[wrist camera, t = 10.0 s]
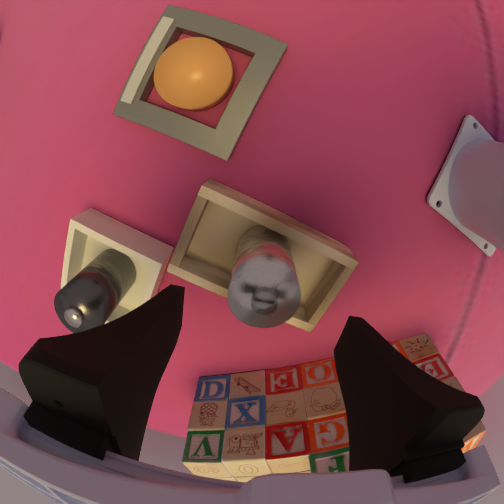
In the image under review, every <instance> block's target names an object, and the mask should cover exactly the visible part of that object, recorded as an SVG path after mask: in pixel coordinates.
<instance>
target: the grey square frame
mask: <svg viewBox="0 0 504 504" xmlns="http://www.w3.org/2000/svg"><path fill="white" fill-rule="evenodd" d="M181 33H185V34H189V35H192V36H195V37H204V38H208V39H211V40H213V41H215V42H217V43H218V44H220V45H223V46H225V47H228V48H231V49H234V50H236V51H239V52H241V53H244V54H246V55H249V56H251V57H253V58H252V60H251V62H250V64H249V66H248V67H247V69H246V71H245V73H244V75H243V76H242V78H241V80H240V82H239V84H238V86H237V88H236V90H235V92H234V93H233V95H232V97H231V99H230V101H229V103H228V105H227V107H226V109H225V111H224V113H223V115H222V117H221V119H220V121H219V123H218V125H217V127H216V129H215V128H213V127H210V126H208V125H206V124H203V123H201V122H198V121H196V120H193V119H191V118H189V117H186V116H184V115H181V114H178V113H176V112H173V111H171V110H168V109H165V108H163V107H160V106H157V105H154V104H152V103H149V102H146V101H147V99H148V97H149V95H150V92H151V90H152V88H153V86H154V69H155V66H156V63H157V61H158V59H159V57H160V56H161V55H162V53H163V52H164V51H165V50H166V49H167V48H168V47H169V46H171V45H172V44H174V43H175V42H176V41H177V40H178V38H179V36H180V34H181ZM287 47H288V44H286V43H284V42H282V41H279V40H277V39H275V38H272V37H270V36H268V35H265V34H263V33H260V32H258V31H255V30H252V29H250V28H247V27H244V26H242V25H239V24H236V23H233V22H230V21H227V20H224V19H221V18H218V17H214V16H211V15H207V14H204V13H200V12H197V11H193V10H189V9H185V8H181V7H176V6H172V5H168V6H167V8H166V9H165V11H164V12H163V14H162V16H161V17H160V19H159V20H158V22H157V24H156V26H155V27H154V29H153V31H152V33H151V34H150V36H149V38H148V40H147V42H146V43H145V45H144V47H143V49H142V51H141V53H140V55H139V57H138V59H137V61H136V63H135V65H134V67H133V69H132V71H131V73H130V75H129V77H128V80H127V82H126V84H125V86H124V88H123V91H122V93H121V95H120V98H119V100H118V102H117V105H116V107H115V110H114V112H113V115H116V116H119V117H122V118H124V119H127V120H130V121H132V122H135V123H138V124H140V125H143V126H145V127H148V128H151V129H153V130H156V131H158V132H161V133H163V134H166V135H168V136H171V137H173V138H175V139H178V140H180V141H183V142H185V143H187V144H190V145H192V146H194V147H197V148H199V149H201V150H204V151H206V152H208V153H210V154H213V155H215V156H217V157H219V158H222V159H224V160H226V161H228V160H229V159H230V157H231V155H232V152H233V150H234V148H235V146H236V144H237V142H238V140H239V138H240V136H241V134H242V132H243V130H244V128H245V126H246V124H247V122H248V120H249V118H250V116H251V114H252V113H253V111H254V109H255V107H256V105H257V103H258V101H259V99H260V97H261V95H262V93H263V92H264V90H265V88H266V86H267V84H268V82H269V80H270V79H271V77H272V75H273V73H274V71H275V70H276V68H277V66H278V64H279V62H280V61H281V59H282V57H283V55H284V54H285V52H286V50H287Z"/></svg>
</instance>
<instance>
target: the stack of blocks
mask: <svg viewBox="0 0 504 504" xmlns="http://www.w3.org/2000/svg"><path fill="white" fill-rule="evenodd" d="M390 344H391V345H392V346H393V347H394V348H395V349H396V350H397V351H399V352H400V353H401V354H402V355H403V356H404V357H406V358H407V359H408V360H409V361H411V362H412V363H413V364H415V365H416V366H417V367H419V368H420V369H422V370H423V371H425V372H426V373H428V374H429V375H431V376H433V377H434V378H436V379H438V380H439V381H441V382H443V383H445V384H447V385H449V386H451V387H454V388H456V389H458V390H461V391H463V392H465V391H464V389H463V388H462V386H461V384H460V383H459V381H458V380H457V378H456V377H454V374H453V373H452V371H451V370H450V368H449V367H448V365H447V364H446V362H445V361H444V359H443V358H442V356H441V355H440V354H439V351H438V350H437V348H436V347H435V345H434V343H433V342H432V341H431V339H430V338H429V337H428V335H427V334H426V333H424V334H420V335H417V336H414V337H411V338H407V339H404V340H400V341H395V342H391V343H390ZM485 431H486V429H485V427H484V425H483V423H482V421H481V420H480V422H479V423H478V424H477V425H476V426H475V427H474V428H473V429H472V430H471V431H470V432H469V433H468V434H467V435H466V436H465V437H464V438H463V441H464V444H465V446H464V447H463V448H461V450H462V452H463V453H465V452H467V451H468V450H471V449H474V447H475V446H476V445H477V443H478V442H479V441H480V439H481V438H482V436H483V434H484V433H485ZM182 462H183V464H184V465H185V466H187V468H188V469H189V470H190V471H191V472H192V473H193V474H194V475H197V476H203V477H209V478H215V479H222V480H229V481H237V482H248V481H249V480H251V479H252V478H254V477H257V476H262V475H267V474H272V473H326V472H345V471H349V435H348V423H347V415H346V409H345V405H344V401H343V397H342V393H341V389H340V385H339V381H338V377H337V372H336V367H335V357H333V358H328V359H325V360H320V361H314V362H309V363H304V364H301V365H295V366H289V367H283V368H277V369H271V370H267V371H265V370H260V371H253V372H245V373H236V374H226V375H217V376H208V377H200V378H199V381H198V385H197V389H196V394H195V398H194V403H193V406H192V410H191V415H190V419H189V424H188V433H187V438H186V443H185V449H184V454H183V459H182Z"/></svg>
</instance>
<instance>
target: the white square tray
mask: <svg viewBox="0 0 504 504" xmlns="http://www.w3.org/2000/svg"><path fill="white" fill-rule="evenodd" d="M107 249H116V250H118V251H120V252H122V253H124V254H126V255H128V256H129V257H130V259H131V260H132V261H133V263H134V265H135V268H136V280H135V282H134V284H133V285H132V287H131V288H130V289H129V291H128V292H127V293H126V295H125V296H124V297H123V299H122V300H121V301H120V303H119V304H118V306H117V307H116V308H115V310H114V311H113V312H112V314H111V315H110V317H109V318H108V319H107V321H106V322H105V324H106V323H108V322H110V321H113V320H115V319H117V318H119V317H121V316H123V315H125V314H127V313H129V312H130V311H132V310H134V309H135V308H137V307H139V306H140V305H142V304H143V303H145V302H146V301H148V300H149V299H151V298H152V297H154V296H155V295H156V294H157V292H158V289H159V286H160V283H161V280H162V278H163V275H164V272H165V270H166V267H167V264H168V262H169V259H170V256H171V254H172V251H173V249H174V247H172V246H170V245H168V244H166V243H163V242H161V241H159V240H157V239H155V238H153V237H151V236H149V235H146V234H144V233H142V232H140V231H138V230H136V229H134V228H132V227H130V226H128V225H126V224H123V223H121V222H119V221H117V220H115V219H113V218H111V217H109V216H107V215H105V214H103V213H101V212H99V211H97V210H95V209H93V208H90V209H88V210H86V211H84V212H82V213H80V214H78V215H77V216H75V217H73V218H71V220H70V225H69V231H68V236H67V242H66V249H65V256H64V263H63V271H62V280H61V289H62V288H63V287H64V286H65V285H66V284H67V283H68V282H69V281H70V280H71V279H72V278H74V277H75V276H76V275H77V274H78V273H79V272H80V271H81V270H82V269H83V268H85V267H86V266H87V265H88V264H89V263H90V262H91V261H92V260H94V259H95V258H96V257H97V256H98V255H99V254H100V253H102V252H103V251H104V250H107Z"/></svg>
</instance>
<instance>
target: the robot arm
mask: <svg viewBox="0 0 504 504" xmlns="http://www.w3.org/2000/svg"><path fill="white" fill-rule="evenodd" d="M473 123H474V125H475V127H473ZM437 201H439V204H438V205H437V206H436V203H437ZM427 203H428V205H429V206H431V207H432V208H433V209H434V210H436V211H437V212H438V213H439V214H441V215H442V216H443V217H444V218H446V219H447V220H448V221H449V222H450V223H452V224H453V225H454V226H455V227H456V228H457V229H459V230H460V231H461V232H462V233H463V234H464V235H465V236H467V237H468V238H469V239H470V240H471V241H472V242H473V243H474V244H475V245H477V246H478V247H479V248H480V249H481V250H482V251H483V252H484V253H485V254H486V255H488V256H491V255H492V254H493V253H494V251H495V249H496V248H497V249H499V250H500V251H502V252H503V253H504V143H502V142H496V141H495V140H494V139H493V138H492V137H491V136H490V134H489V133H488V132H487V131H486V130H485V129H484V128H483V126H482V125H481V124H480V123H479V122H478V121H477V120H476V119H475V118H474V117H473V116H472V115H466V116H465V118H464V120H463V123H462V125H461V127H460V130H459V132H458V134H457V137H456V139H455V141H454V143H453V146H452V148H451V150H450V152H449V154H448V156H447V159H446V161H445V163H444V165H443V167H442V169H441V171H440V173H439V175H438V177H437V179H436V181H435V183H434V185H433V187H432V189H431V190H430V192H429V194H428V196H427ZM484 245H485V246H484ZM184 291H185V287H181V286H176V285H172V284H171V285H169V286H168V287H166V288H165V289H163V290H162V291H161V292H159V293H158V294H157V295H155V296H154V297H152V298H151V299H149V300H148V301H146V302H145V303H143V304H142V305H140V306H139V307H137V308H135V309H134V310H132V311H130V312H129V313H127V314H125V315H123V316H121V317H119V318H117V319H115V320H113V321H110V322H108V323H106V324H103V325H100V326H97V327H94V328H91V329H89V330H85V331H82V332H78V333H73V334H69V335H64V336H57V337H49V338H40V339H39V340H38V341H37V342H36V343H35V344H34V345H33V346H32V348H31V349H30V350H29V351H28V352H27V354H26V355H25V356H24V357H23V359H22V360H21V361H20V363H19V373H20V376H21V378H22V381H23V383H24V385H25V387H26V389H27V390H28V393H29V395H30V396H31V399H32V400H33V402H32V403H31V405H30V406H29V407H28V406H27V405H26V404H25V403H24V402H23V401H21V400H20V399H18V398H17V397H15V396H13V395H12V394H10V393H9V392H7V391H5V390H4V389H1V388H0V466H1V467H2V468H3V469H5V470H6V471H8V472H9V473H10V474H12V475H13V476H15V477H16V478H18V479H19V480H21V481H22V482H24V483H25V484H27V485H28V486H30V487H31V488H33V489H35V490H37V491H38V492H40V493H41V494H43V495H44V496H46V497H48V498H50V499H51V500H53V501H55V502H57V503H59V504H475V503H476V502H478V501H479V500H481V499H483V498H484V497H485V496H487V495H488V494H490V493H491V492H492V491H494V490H495V489H496V488H498V487H499V486H500V485H501V483H500V481H499V478H498V476H497V473H496V471H495V468H494V466H493V464H492V461H491V459H490V457H489V455H488V452H487V450H486V448H485V446H484V445H482V446H480V447H477V448H474V449H471V450H468V451H467V452H465V453H463V452H462V450H461V448H463V447H464V446H465V444H464V441H463V438H464V437H465V436H466V435H467V434H468V433H469V432H470V431H471V430H472V429H473V428H474V427H475V426H476V425H477V424H478V423H479V422H480V420H481V419H482V417H483V415H484V411H485V410H484V407H483V405H482V403H481V401H480V400H479V398H478V397H477V396H474V395H472V394H469V393H466V392H463V391H461V390H458V389H456V388H454V387H451V386H449V385H447V384H445V383H443V382H441V381H439V380H438V379H436V378H434V377H433V376H431V375H429V374H428V373H426V372H425V371H423V370H422V369H420V368H419V367H417V366H416V365H415V364H413V363H412V362H411V361H409V360H408V359H407V358H406V357H404V356H403V355H402V354H401V353H400V352H399V351H397V350H396V349H395V348H394V347H393V346H392V345H391V344H390V343H389V342H388V341H387V340H386V339H384V338H383V337H382V336H381V335H380V334H379V333H378V332H377V331H376V330H375V329H374V328H373V327H372V326H371V325H370V324H369V323H367V322H366V321H365V320H364V319H363V318H361V317H353V316H349V318H348V320H347V322H346V325H345V327H344V329H343V332H342V334H341V336H340V338H339V340H338V343H337V345H336V347H335V349H334V357H335V367H336V372H337V377H338V381H339V385H340V389H341V393H342V397H343V401H344V405H345V409H346V415H347V423H348V435H349V471H345V472H326V473H272V474H267V475H262V476H257V477H254V478H252V479H251V480H249V481H248V482H237V481H229V480H222V479H215V478H209V477H203V476H197V475H192V474H187V473H182V472H178V471H173V470H169V469H165V468H161V467H157V466H154V465H150V464H146V463H143V462H139V461H138V460H139V455H140V451H141V445H142V441H143V437H144V433H145V429H146V425H147V421H148V417H149V414H150V410H151V406H152V403H153V399H154V396H155V393H156V390H157V387H158V384H159V382H160V380H161V377H162V375H163V373H164V371H165V368H166V366H167V364H168V362H169V359H170V357H171V355H172V353H173V350H174V348H175V346H176V343H177V340H178V337H179V333H180V330H181V326H182V315H183V303H184Z"/></svg>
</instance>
